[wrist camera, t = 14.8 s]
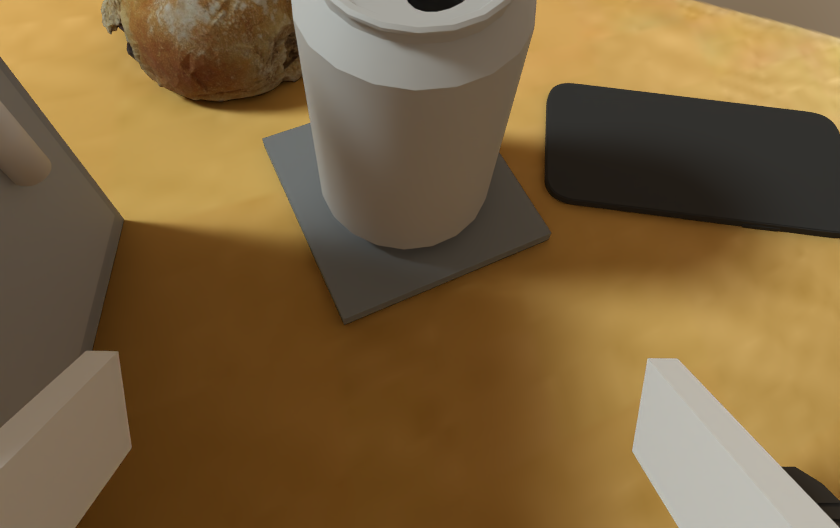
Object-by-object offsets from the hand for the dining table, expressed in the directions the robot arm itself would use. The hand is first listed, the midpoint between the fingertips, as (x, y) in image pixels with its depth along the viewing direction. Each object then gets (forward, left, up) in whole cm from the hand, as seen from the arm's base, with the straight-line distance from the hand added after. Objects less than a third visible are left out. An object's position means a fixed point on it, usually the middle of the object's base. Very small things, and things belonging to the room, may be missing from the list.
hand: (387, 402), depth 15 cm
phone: (-20, -7, -9) cm, 23 cm away
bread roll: (-1, -23, -9) cm, 25 cm away
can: (-6, -10, -8) cm, 14 cm away
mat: (-6, -11, -8) cm, 15 cm away
